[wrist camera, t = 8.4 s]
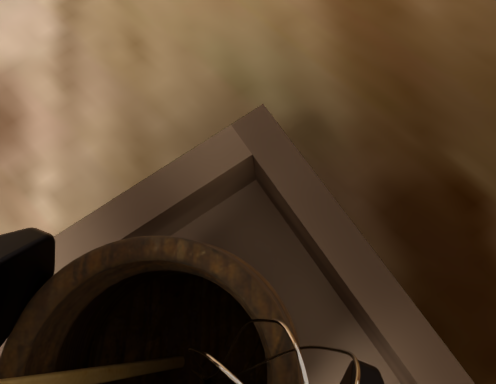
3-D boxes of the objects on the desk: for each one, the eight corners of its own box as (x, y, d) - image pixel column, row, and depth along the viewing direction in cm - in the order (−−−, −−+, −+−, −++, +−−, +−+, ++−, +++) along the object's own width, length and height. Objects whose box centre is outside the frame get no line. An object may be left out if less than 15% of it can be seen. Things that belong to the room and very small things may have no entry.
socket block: (166, 631, 14) (131, 726, 11) (10, 311, 17) (-57, 306, 14) (459, 409, 15) (511, 431, 12) (265, 146, 18) (263, 103, 15)
